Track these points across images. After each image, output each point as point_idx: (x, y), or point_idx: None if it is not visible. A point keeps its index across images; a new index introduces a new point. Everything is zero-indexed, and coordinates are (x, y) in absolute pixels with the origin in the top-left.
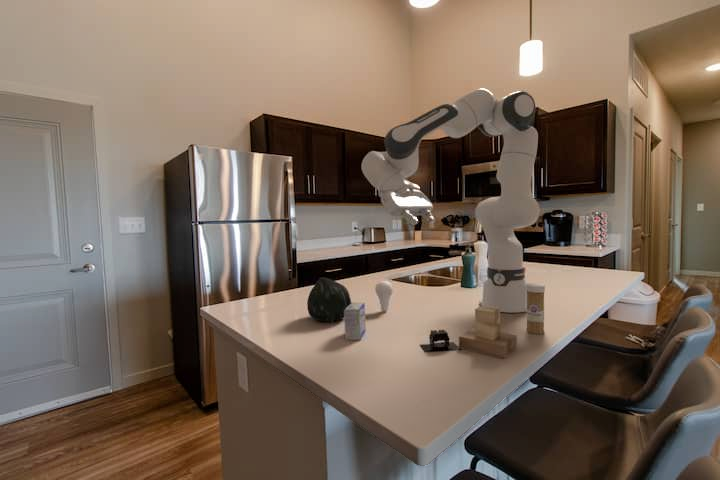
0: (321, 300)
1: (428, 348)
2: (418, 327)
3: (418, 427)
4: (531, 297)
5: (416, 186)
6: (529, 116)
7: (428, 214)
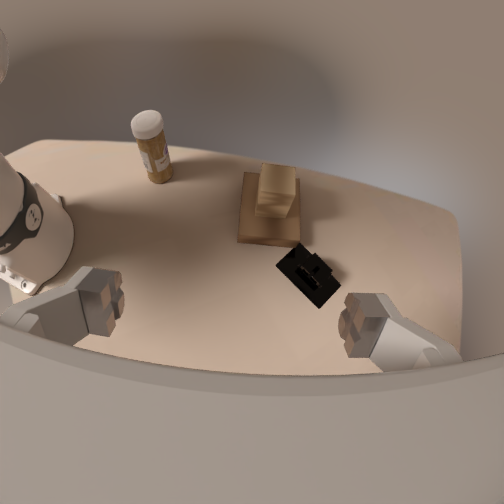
0: None
1: (327, 286)
2: (236, 355)
3: (447, 222)
4: (161, 137)
5: None
6: None
7: (48, 323)
